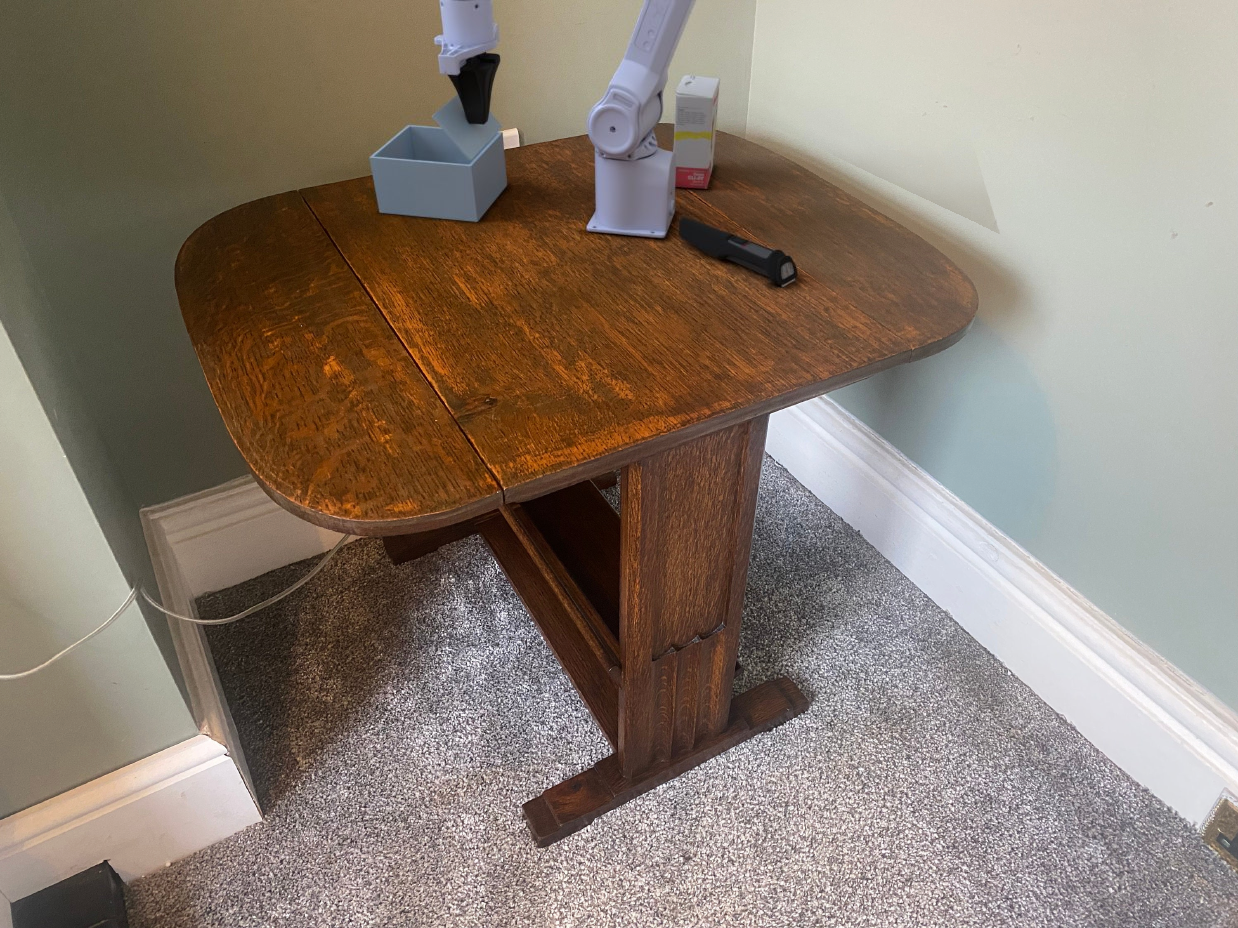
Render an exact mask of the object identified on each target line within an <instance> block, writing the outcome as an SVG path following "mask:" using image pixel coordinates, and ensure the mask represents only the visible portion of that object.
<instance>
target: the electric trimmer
mask: <svg viewBox="0 0 1238 928" xmlns="http://www.w3.org/2000/svg"><path fill="white" fill-rule="evenodd" d="M678 222H679V223H678V236H679V237H680V238H681V239H682V240H684V241H685V242H687V243H689V244H690V245H692V246H693V247H695V248H697V249H699V250H700V251H702V252H704V253H705V254H707V255H709V256H711V257H713V258H715V259H717V260H729V261H731V262H734V263H736V264H738V265H741V266H742V267H744V268H747V269H750V270H752V271H754V272H756V273H759V274H761V275H763V276H765V277H767V278H769V280H770V283H771V284H772V285H773V286H779V285H781V287H782V288H783V287H785V286H787V285H789V284H791V283H793V282H795V281H796V278H797V277H798V268H797V265H796V263H795V261H794V259H793V258H792V257H791V256H790V255H788V254H787V255H786V253H785V252H784V251H783V250H782V249H773V248H770V247H767V246H764V245H761V244H760V243H757V242H754V241H751V240H749V239H746V238H743V237H741V236H738V235H735V234H734V233H731V232H728V231H725V230H722V229H719V228H716V227H715V226H711V225H709V224H705V223H703V222H700V221H697V220H695V219H693V218H689V217H687V216H682V217H681V218H680V219H679V221H678Z"/></svg>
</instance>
